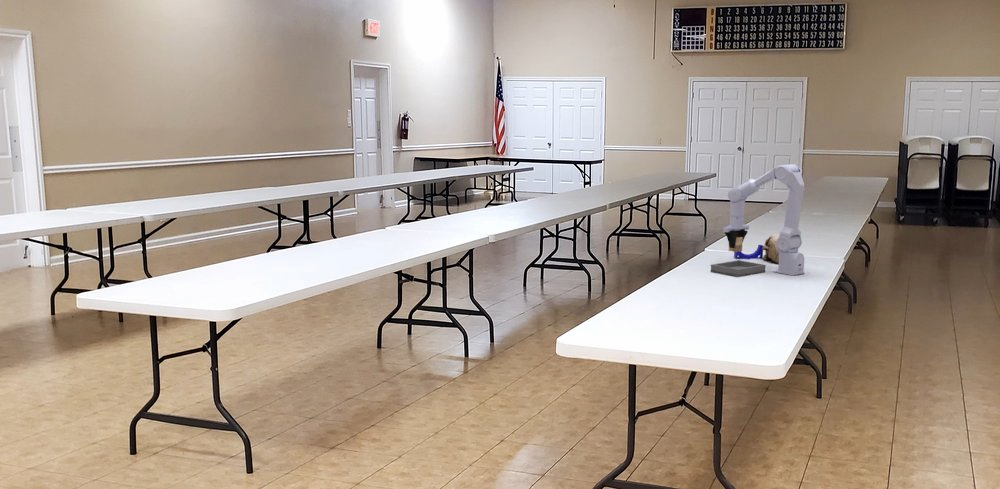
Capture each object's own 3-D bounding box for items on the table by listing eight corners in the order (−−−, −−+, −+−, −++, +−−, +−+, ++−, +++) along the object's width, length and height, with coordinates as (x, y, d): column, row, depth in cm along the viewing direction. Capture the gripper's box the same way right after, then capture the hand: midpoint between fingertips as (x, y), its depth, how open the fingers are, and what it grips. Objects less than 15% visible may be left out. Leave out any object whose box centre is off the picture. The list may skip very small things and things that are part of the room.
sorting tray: (765, 272, 345) (765, 264, 345) (737, 277, 335) (738, 269, 335) (738, 267, 356) (738, 260, 356) (710, 271, 346) (711, 264, 345)
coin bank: (770, 256, 382) (774, 227, 378) (805, 265, 369) (809, 236, 366) (750, 261, 372) (754, 232, 369) (785, 271, 359) (789, 240, 356)
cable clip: (735, 259, 376) (736, 246, 375) (734, 257, 380) (734, 244, 379) (763, 259, 375) (764, 246, 374) (761, 257, 379) (761, 244, 378)
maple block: (742, 251, 361) (742, 237, 360) (736, 252, 359) (736, 238, 358) (734, 249, 365) (735, 236, 364) (728, 250, 362) (729, 237, 361)
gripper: (740, 213, 367) (738, 244, 369) (718, 216, 358) (717, 247, 361) (753, 215, 361) (752, 246, 363) (731, 218, 353) (730, 250, 355)
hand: (735, 247), depth 362 cm, fingers closed on maple block, 4 cm apart
